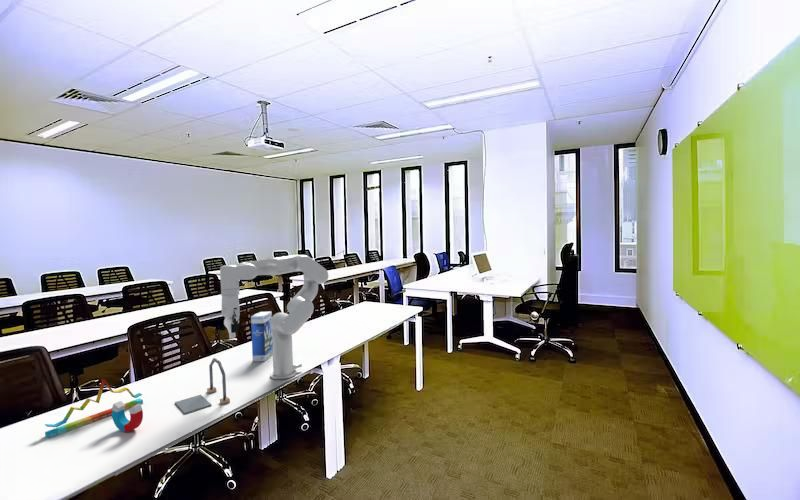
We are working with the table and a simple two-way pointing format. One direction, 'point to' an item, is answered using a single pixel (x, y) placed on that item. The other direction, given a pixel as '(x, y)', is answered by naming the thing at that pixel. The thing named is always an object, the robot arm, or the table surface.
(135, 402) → the chart
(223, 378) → the wire arch
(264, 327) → the string lights box
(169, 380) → the table surface
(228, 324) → the lightbulb
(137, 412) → the magnet
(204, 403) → the mat
